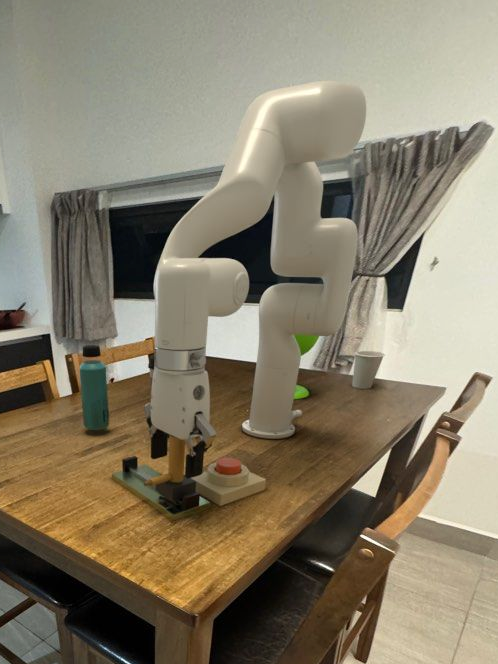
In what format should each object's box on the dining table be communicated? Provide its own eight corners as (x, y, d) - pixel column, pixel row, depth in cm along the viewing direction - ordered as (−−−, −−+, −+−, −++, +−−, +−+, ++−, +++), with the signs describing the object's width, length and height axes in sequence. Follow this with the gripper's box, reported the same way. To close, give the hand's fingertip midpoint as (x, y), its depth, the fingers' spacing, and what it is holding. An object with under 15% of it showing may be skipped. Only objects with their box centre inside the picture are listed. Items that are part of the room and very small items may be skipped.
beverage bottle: (106, 436, 108) (102, 348, 98) (80, 435, 110) (73, 348, 99) (112, 427, 114) (109, 343, 103) (87, 426, 115) (81, 342, 104)
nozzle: (177, 487, 81) (180, 422, 75) (195, 497, 78) (199, 431, 71) (136, 500, 77) (135, 433, 71) (153, 512, 74) (153, 442, 67)
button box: (230, 473, 90) (233, 454, 88) (264, 490, 83) (267, 470, 81) (188, 487, 85) (189, 467, 83) (220, 506, 78) (222, 485, 76)
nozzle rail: (145, 469, 92) (145, 453, 90) (209, 508, 78) (211, 489, 76) (111, 479, 88) (111, 462, 86) (173, 521, 74) (173, 502, 72)
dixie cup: (374, 384, 146) (383, 351, 141) (376, 390, 140) (386, 356, 134) (347, 382, 149) (354, 350, 143) (347, 388, 142) (355, 355, 137)
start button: (228, 464, 85) (229, 455, 84) (245, 472, 81) (246, 463, 81) (210, 469, 83) (211, 461, 82) (227, 478, 80) (228, 469, 79)
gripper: (239, 365, 62) (227, 478, 71) (165, 347, 74) (163, 446, 84) (197, 373, 59) (190, 491, 68) (127, 353, 71) (129, 455, 80)
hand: (175, 466), depth 76 cm, fingers open, 9 cm apart
